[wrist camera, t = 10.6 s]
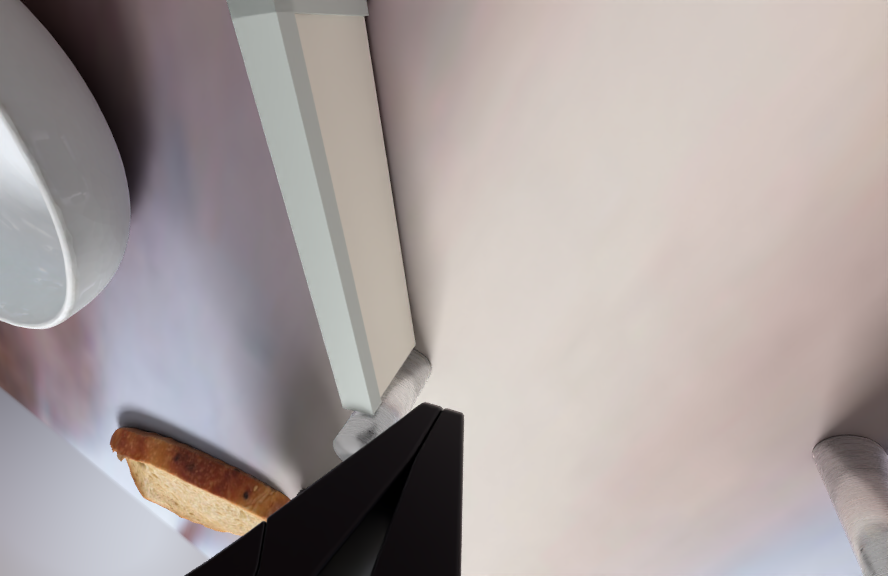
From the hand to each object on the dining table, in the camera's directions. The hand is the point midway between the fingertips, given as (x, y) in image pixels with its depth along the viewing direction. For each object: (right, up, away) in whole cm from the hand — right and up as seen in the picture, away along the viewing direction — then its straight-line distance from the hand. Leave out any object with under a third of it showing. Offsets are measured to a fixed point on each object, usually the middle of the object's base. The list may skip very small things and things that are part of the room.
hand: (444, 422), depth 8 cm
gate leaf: (-3, +7, +11) cm, 14 cm away
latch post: (+17, -5, +10) cm, 21 cm away
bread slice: (-24, -16, +35) cm, 46 cm away
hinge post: (-2, -2, +17) cm, 17 cm away
